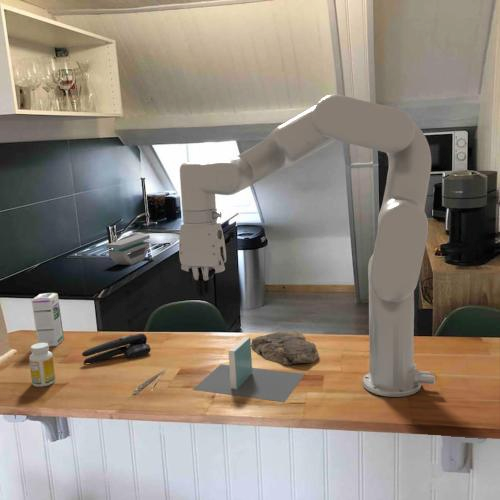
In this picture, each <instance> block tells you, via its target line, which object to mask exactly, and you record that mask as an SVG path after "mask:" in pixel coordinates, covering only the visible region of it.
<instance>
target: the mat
mask: <svg viewBox="0 0 500 500" xmlns="http://www.w3.org/2000/svg"><path fill="white" fill-rule="evenodd" d="M305 374H306V373H299V372H292V371H282V370H275V369H273V370H272V369H265V368H255V367H252V374H251V375H250V376H249V377H248V378H247V379H246V380H245V382H244V383H243V384H242V385H241V386H240V387H239V388H238V389H233V388H231V382H230V367H229V364H221V363H220V364H219V365H218V366H217V367H216V368H214V370H213V371H211V372H210V373H209V374H208V375H207V376H206V377H204V378H203V380H201V381H200V382H199V383H198V384H197V385H196V386H195V387H193V389H192V390H193V391H198V392H199V391H200V392H207V393H213V394H214V393H215V394H221V395H222V394H223V395H230V396H236V397H243V398H244V397H245V398H251V399H257V400H259V399H260V400H266V401H272V402H281V403H285V402H286V401H287V399H288V398H289V396H290V395H291V394H292V393H293V391H294V390H295V388H296V387H297V385H299V383H300V381H301V380H302V379H303V377H304V376H305Z"/></svg>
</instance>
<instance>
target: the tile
mask: <svg viewBox="0 0 500 500" xmlns="http://www.w3.org/2000/svg"><path fill="white" fill-rule="evenodd" d="M251 343H252V339H251V337H249V336H248V337H247V336H243V337H242V338H241V339H240V340H239V341H238V342H236V344H234V345H233V346H232V347H231V348H230V349H229V350H228V363H229V364H228V365H229V367H230V382H231V388H233V389H238V388H239V387H240V386H241V385H242V384H243V383H244V382H245V380H246V379H247V378H248V377H249V376H250V375H251V374H252V368H253V362H252V360H253V359H252V347H251Z"/></svg>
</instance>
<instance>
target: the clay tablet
mask: <svg viewBox="0 0 500 500" xmlns="http://www.w3.org/2000/svg"><path fill="white" fill-rule="evenodd" d="M306 338H307V337H305V335H304V334H303V333H301V332H298V331H284V330H281V331H276V332H273V333H268V334H266V335H259V336H257V337H254V338H252V339H251V350H254V352H255V353H256V354H257V355H259V356H260V355H261V354H262V357H263V358H265V360H269V361H271V362H272V363H273V362H275V363H279V364H281V365H283V366H289V367H290V366H292V365H297V364H302V363H303V364H304V363H305V364H311V363H314V362H316V361H317V360H318V358H319V356H320V355H319V352H318V349H317V345H316V343H314V342H311V341H309V340H307V339H306Z"/></svg>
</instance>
